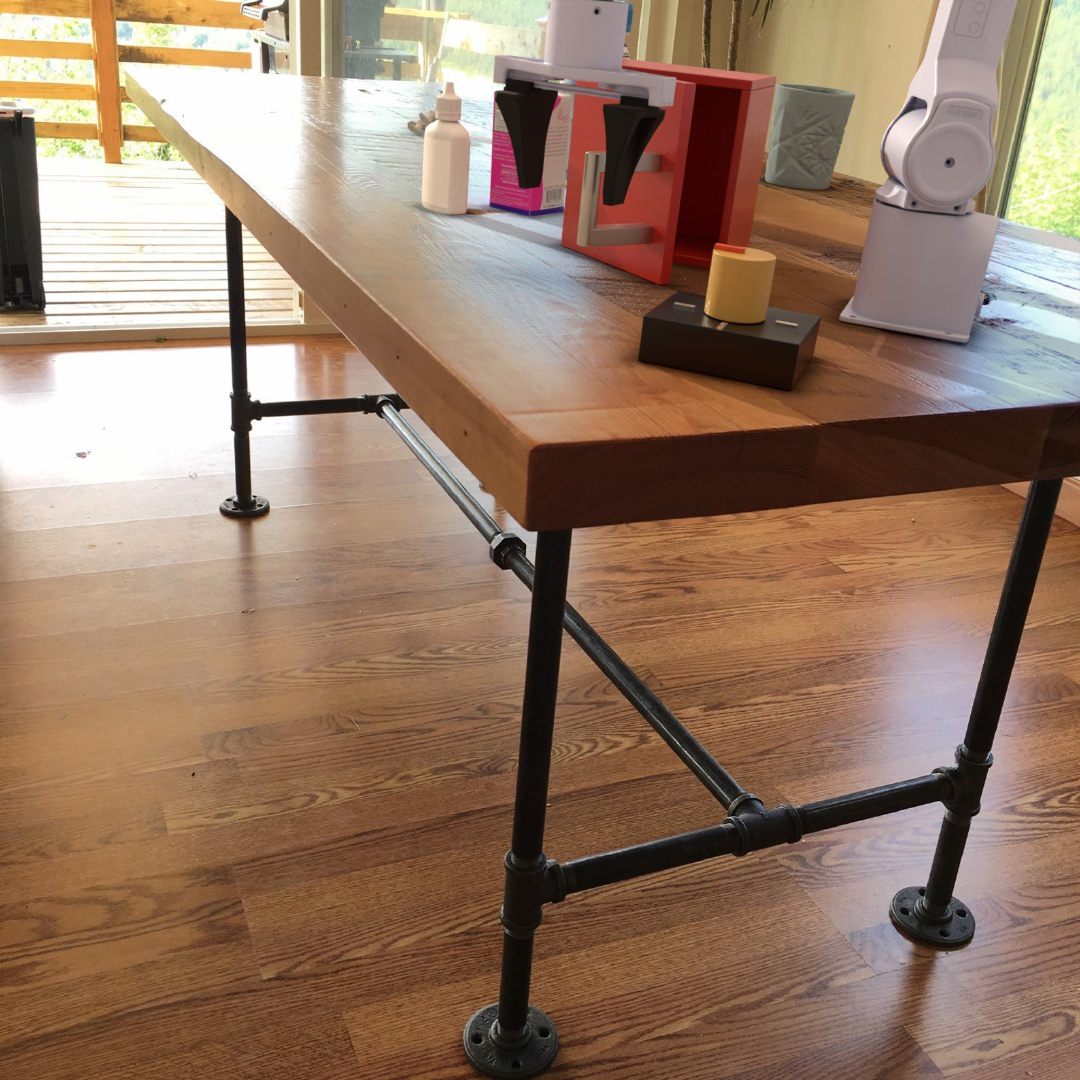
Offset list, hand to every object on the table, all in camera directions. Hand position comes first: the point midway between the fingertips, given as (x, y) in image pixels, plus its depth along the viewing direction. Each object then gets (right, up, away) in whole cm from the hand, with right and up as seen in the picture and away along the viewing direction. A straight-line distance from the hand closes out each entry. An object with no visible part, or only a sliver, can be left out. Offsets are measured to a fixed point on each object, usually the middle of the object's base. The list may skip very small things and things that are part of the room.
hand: (570, 195), depth 86 cm
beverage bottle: (+3, +16, +49) cm, 52 cm away
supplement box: (-4, +8, +31) cm, 32 cm away
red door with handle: (+1, -3, +9) cm, 10 cm away
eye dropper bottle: (-12, +7, +27) cm, 30 cm away
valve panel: (+10, -14, -12) cm, 21 cm away
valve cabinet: (+9, +1, +19) cm, 21 cm away
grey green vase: (+32, +21, +64) cm, 75 cm away
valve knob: (+10, -12, -13) cm, 20 cm away
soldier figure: (-18, +34, +81) cm, 90 cm away
